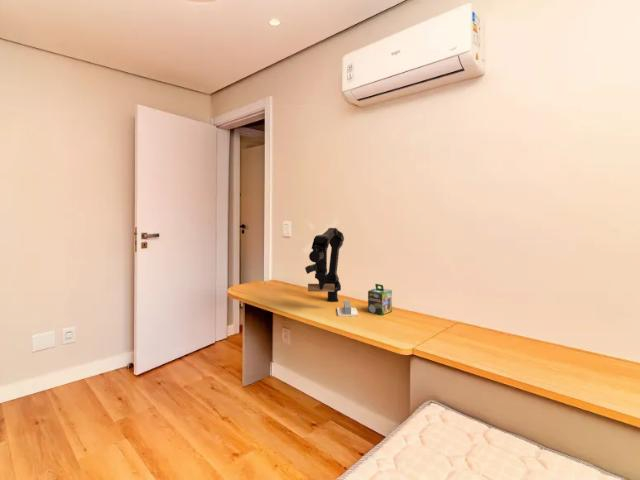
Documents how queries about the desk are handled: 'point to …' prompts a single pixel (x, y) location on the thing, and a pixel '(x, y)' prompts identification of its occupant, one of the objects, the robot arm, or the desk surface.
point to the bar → (325, 289)
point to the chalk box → (380, 300)
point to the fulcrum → (347, 310)
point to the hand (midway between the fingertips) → (321, 288)
